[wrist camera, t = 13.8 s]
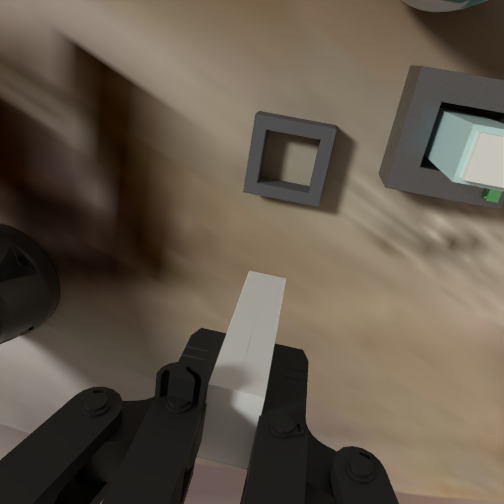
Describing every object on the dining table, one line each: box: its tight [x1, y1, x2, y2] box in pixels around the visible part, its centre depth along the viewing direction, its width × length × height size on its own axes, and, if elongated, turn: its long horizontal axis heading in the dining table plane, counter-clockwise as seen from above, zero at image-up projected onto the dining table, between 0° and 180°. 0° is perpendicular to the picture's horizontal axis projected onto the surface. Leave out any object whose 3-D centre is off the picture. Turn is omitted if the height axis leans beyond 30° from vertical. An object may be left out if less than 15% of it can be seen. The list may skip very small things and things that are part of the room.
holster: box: [243, 111, 337, 207], centre depth 42 cm, size 8×8×2 cm
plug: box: [424, 108, 504, 192], centre depth 34 cm, size 4×4×13 cm
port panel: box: [379, 66, 504, 210], centre depth 37 cm, size 10×10×6 cm
